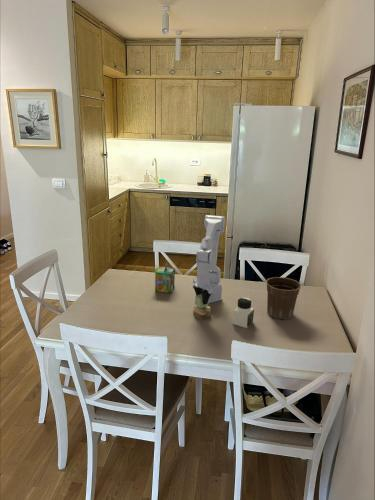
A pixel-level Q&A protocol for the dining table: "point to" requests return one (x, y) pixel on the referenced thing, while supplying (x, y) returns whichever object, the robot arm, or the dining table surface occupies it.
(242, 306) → the medicine bottle
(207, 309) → the oak slab
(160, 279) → the chalk box
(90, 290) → the dining table surface
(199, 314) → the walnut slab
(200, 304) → the green cube
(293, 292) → the plant pot
